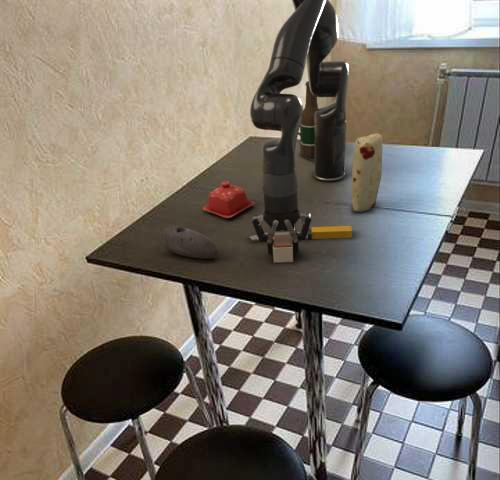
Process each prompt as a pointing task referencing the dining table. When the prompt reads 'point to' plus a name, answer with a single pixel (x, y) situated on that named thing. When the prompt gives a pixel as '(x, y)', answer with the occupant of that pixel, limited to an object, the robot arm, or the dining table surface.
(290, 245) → the salt cellar
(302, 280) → the dining table surface
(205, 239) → the perforated stone tool
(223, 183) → the butter dish
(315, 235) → the knife
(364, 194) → the food model
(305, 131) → the beer bottle
